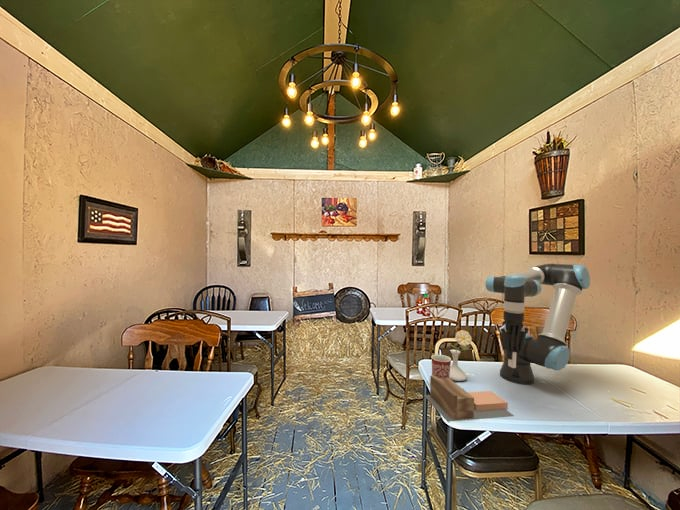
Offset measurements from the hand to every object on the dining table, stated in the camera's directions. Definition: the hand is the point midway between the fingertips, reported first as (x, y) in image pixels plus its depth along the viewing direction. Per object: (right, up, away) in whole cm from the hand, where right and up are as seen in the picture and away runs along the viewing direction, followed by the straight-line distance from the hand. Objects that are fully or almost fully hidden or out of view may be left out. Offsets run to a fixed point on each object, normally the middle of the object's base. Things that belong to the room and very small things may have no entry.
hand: (511, 366), depth 123 cm
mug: (-25, -15, +16) cm, 34 cm away
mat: (-21, -15, -3) cm, 26 cm away
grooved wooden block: (-28, -14, -5) cm, 32 cm away
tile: (-13, -15, -2) cm, 20 cm away
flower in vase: (-14, -15, +23) cm, 31 cm away
